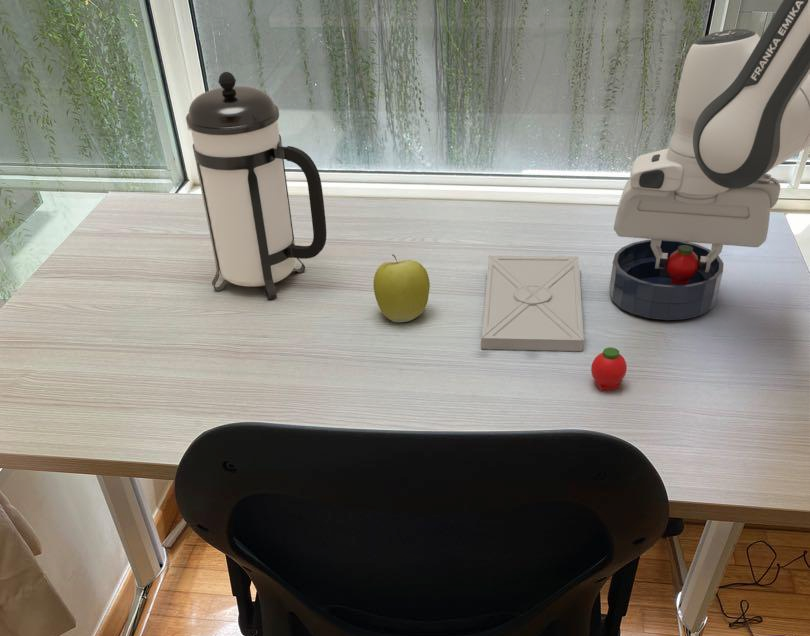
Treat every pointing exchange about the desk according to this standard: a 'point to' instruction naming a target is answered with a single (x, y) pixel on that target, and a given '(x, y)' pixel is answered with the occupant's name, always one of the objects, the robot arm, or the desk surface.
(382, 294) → the apple
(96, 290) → the desk surface
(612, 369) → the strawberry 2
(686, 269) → the toy tomato
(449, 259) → the desk surface
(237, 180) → the coffee press
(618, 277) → the bowl
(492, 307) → the envelope
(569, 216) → the desk surface
